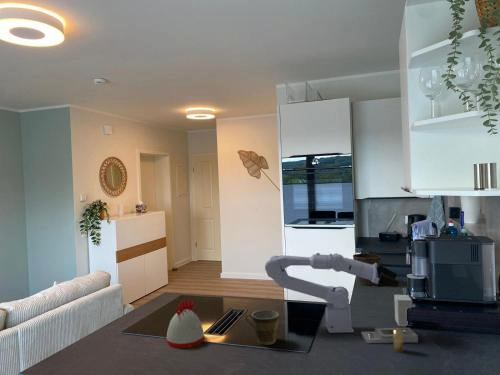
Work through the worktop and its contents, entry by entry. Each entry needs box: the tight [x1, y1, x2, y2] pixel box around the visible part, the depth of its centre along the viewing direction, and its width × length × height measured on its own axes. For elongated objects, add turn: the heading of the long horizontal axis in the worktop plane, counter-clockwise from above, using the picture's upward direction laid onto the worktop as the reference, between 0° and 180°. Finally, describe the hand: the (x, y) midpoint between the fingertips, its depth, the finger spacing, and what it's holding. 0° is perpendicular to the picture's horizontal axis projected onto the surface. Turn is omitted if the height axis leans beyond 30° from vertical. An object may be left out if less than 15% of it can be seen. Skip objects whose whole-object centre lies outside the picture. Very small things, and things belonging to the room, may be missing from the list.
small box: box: [393, 294, 414, 328], centre depth 153 cm, size 8×6×10 cm
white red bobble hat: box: [166, 299, 205, 349], centre depth 143 cm, size 14×14×15 cm
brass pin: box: [392, 327, 404, 353], centre depth 129 cm, size 3×3×7 cm
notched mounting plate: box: [360, 327, 419, 344], centre depth 139 cm, size 18×8×3 cm, turn 88°
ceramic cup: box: [245, 309, 280, 346], centre depth 140 cm, size 13×10×10 cm
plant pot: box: [352, 253, 381, 287], centre depth 214 cm, size 15×15×16 cm
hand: (397, 280), depth 144 cm, fingers open, 7 cm apart
